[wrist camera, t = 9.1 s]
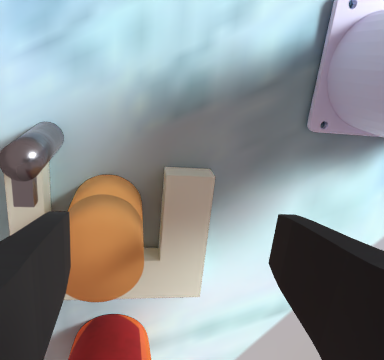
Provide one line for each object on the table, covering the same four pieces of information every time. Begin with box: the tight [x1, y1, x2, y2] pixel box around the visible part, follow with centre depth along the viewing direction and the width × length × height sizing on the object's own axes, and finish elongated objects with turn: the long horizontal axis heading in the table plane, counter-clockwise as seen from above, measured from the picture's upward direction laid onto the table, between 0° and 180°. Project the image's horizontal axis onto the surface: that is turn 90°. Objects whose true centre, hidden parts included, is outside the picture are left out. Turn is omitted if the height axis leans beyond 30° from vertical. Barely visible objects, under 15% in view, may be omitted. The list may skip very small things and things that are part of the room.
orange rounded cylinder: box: [66, 175, 144, 302], centre depth 19 cm, size 4×4×6 cm
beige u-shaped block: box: [4, 162, 215, 300], centre depth 22 cm, size 12×9×2 cm
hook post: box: [0, 122, 64, 207], centre depth 17 cm, size 2×3×5 cm, turn 175°
